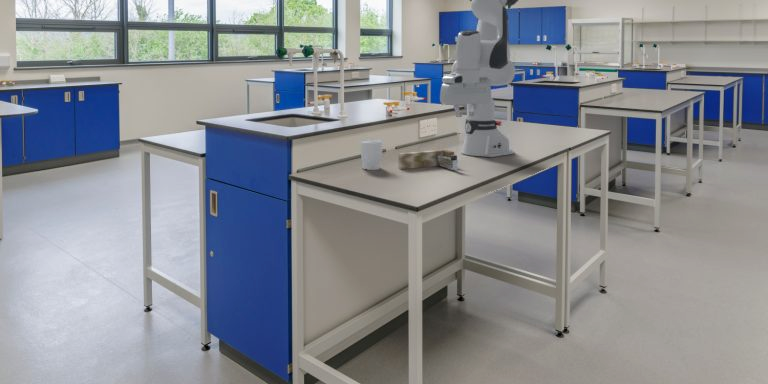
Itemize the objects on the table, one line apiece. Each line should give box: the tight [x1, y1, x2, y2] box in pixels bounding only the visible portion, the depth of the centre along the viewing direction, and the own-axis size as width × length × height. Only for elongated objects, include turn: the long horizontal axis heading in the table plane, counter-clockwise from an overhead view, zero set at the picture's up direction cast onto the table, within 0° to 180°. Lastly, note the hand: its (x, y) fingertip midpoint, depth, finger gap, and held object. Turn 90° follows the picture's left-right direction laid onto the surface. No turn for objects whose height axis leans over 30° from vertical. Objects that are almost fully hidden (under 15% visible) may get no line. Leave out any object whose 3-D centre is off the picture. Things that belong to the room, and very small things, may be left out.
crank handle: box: [437, 154, 459, 171], centre depth 226 cm, size 11×3×5 cm, turn 28°
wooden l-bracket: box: [397, 148, 455, 170], centre depth 228 cm, size 20×6×6 cm, turn 118°
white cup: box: [360, 139, 383, 171], centre depth 224 cm, size 8×8×10 cm
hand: (465, 116), depth 222 cm, fingers open, 4 cm apart
